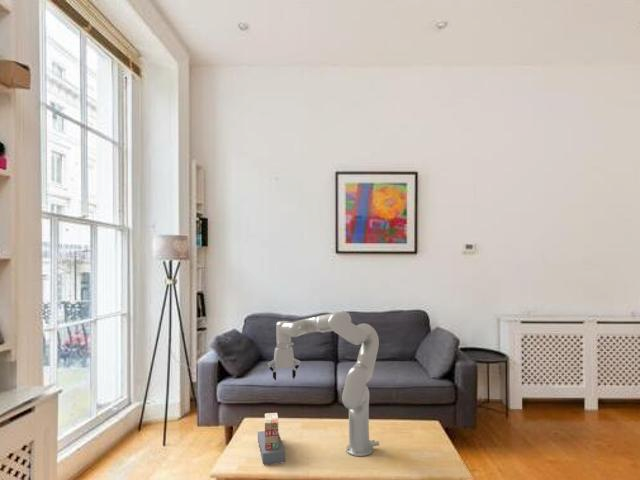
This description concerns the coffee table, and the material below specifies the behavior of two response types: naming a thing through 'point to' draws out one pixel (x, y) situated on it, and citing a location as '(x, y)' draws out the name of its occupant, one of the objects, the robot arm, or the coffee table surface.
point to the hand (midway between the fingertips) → (284, 378)
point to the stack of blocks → (271, 431)
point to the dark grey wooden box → (273, 454)
